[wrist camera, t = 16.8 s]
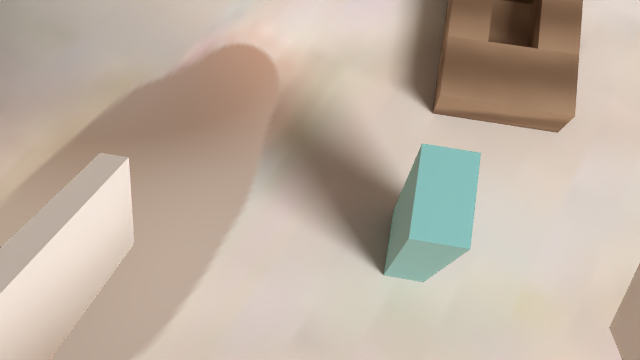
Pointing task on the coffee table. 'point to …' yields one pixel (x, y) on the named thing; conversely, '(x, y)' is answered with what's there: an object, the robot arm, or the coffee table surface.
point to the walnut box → (510, 62)
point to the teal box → (433, 213)
